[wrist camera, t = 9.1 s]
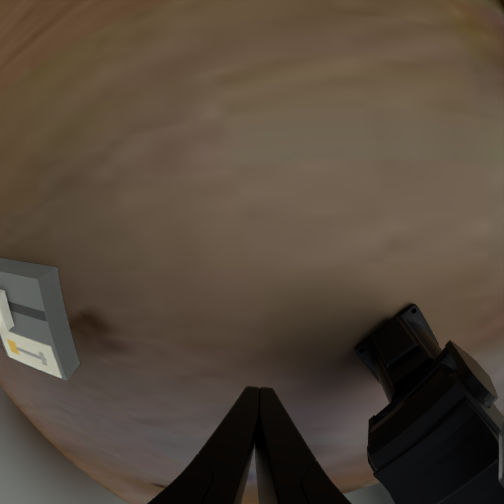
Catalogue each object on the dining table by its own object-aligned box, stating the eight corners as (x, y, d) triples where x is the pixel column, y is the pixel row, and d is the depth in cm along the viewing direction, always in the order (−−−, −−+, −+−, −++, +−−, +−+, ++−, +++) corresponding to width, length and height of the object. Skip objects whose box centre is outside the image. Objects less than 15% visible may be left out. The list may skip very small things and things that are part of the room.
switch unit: (57, 266, 22) (36, 280, 19) (80, 364, 26) (66, 382, 23) (-3, 257, 22) (-22, 267, 19) (20, 343, 26) (6, 357, 23)
